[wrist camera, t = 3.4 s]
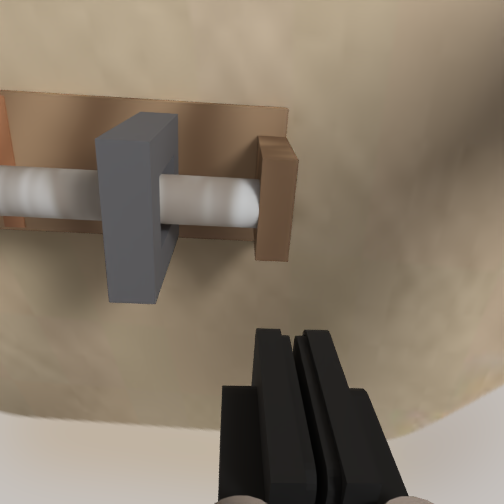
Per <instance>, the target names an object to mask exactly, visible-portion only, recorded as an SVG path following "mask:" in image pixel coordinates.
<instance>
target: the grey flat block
mask: <svg viewBox="0 0 504 504" xmlns="http://www.w3.org/2000/svg"><path fill="white" fill-rule="evenodd" d="M95 148H96V159H97V171H98V182H99V194H100V205H101V216H102V228H103V239H104V251H105V262H106V274H107V285H108V296H109V302H113V303H138V304H156V301H157V298H158V295H159V292H160V289H161V286H162V283H163V280H164V277H165V274H166V271H167V268H168V266H169V263H170V260H171V257H172V254H173V251H174V248H175V245H176V242H177V239H178V236H179V225H178V224H160V187H159V176H160V175H161V174H173V175H179V173H178V114H171V113H155V112H139V113H137V114H136V115H134V116H132V117H130V118H129V119H127V120H125V121H124V122H122V123H120V124H119V125H117V126H115V127H114V128H112V129H110V130H109V131H107V132H105V133H104V134H102V135H100V136H99V137H97V138H95Z"/></svg>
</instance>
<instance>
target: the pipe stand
mask: <svg viewBox="0 0 504 504" xmlns="http://www.w3.org/2000/svg"><path fill="white" fill-rule="evenodd" d="M288 111H289V109H288V108H282V107H266V106H250V105H234V104H218V103H202V102H186V101H170V100H154V99H138V98H122V97H105V96H89V95H73V94H57V93H41V92H25V91H9V90H0V229H13V230H34V231H55V232H76V233H97V234H103V228H102V216H101V205H100V194H99V182H98V171H97V159H96V148H95V138H97V137H99V136H100V135H102V134H104V133H105V132H107V131H109V130H110V129H112V128H114V127H115V126H117V125H119V124H120V123H122V122H124V121H125V120H127V119H129V118H130V117H132V116H134V115H136V114H137V113H139V112H155V113H171V114H178V173H179V175H173V174H161V175H160V176H159V187H160V224H178V225H179V236H178V237H181V238H202V239H223V240H244V241H254V247H255V260H260V261H282V262H288V255H289V246H290V237H291V227H292V218H293V209H294V199H295V190H296V181H297V171H298V162H299V160H298V159H297V157H296V155H295V153H294V151H293V149H292V147H291V145H290V144H289V142H288V140H287V138H286V132H287V122H288Z"/></svg>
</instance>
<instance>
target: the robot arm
mask: <svg viewBox="0 0 504 504" xmlns="http://www.w3.org/2000/svg"><path fill="white" fill-rule="evenodd" d="M218 492H219V493H218V502H217V503H215V504H433V503H431V502H429V501H428V500H424V499H420V498H417V497H413V496H408V493H407V491H406V488H405V486H404V483H403V481H402V478H401V476H400V473H399V471H398V468H397V466H396V463H395V461H394V458H393V456H392V453H391V451H390V448H389V446H388V443H387V441H386V438H385V436H384V433H383V431H382V428H381V426H380V423H379V421H378V418H377V416H376V413H375V411H374V408H373V406H372V403H371V401H370V398H369V396H368V394H367V392H366V391H365V390H364V389H360V388H349V387H348V384H347V381H346V378H345V375H344V372H343V370H342V367H341V364H340V361H339V358H338V355H337V352H336V350H335V347H334V344H333V341H332V338H331V335H330V333H329V331H328V330H304V332H303V336H295V339H294V346H293V352H292V347H291V342H290V337H289V336H288V335H281V331H280V329H263V328H257V329H256V335H255V348H254V361H253V374H252V386H222V407H221V431H220V462H219V491H218Z"/></svg>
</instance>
